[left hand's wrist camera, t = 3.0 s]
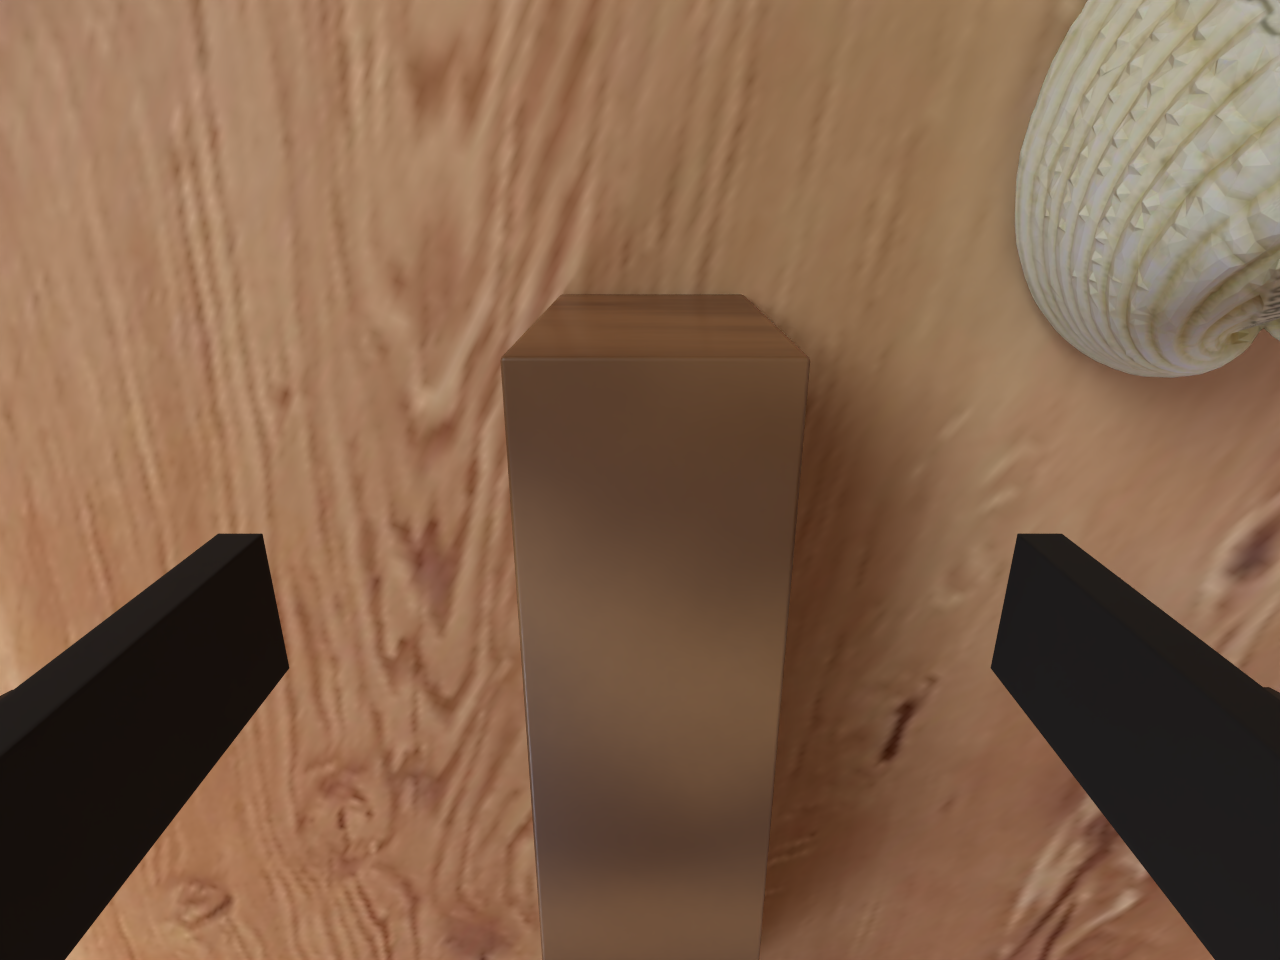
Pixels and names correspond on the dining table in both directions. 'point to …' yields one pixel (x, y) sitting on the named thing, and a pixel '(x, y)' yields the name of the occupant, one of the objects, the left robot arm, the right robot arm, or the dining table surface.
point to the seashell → (1157, 184)
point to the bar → (653, 613)
